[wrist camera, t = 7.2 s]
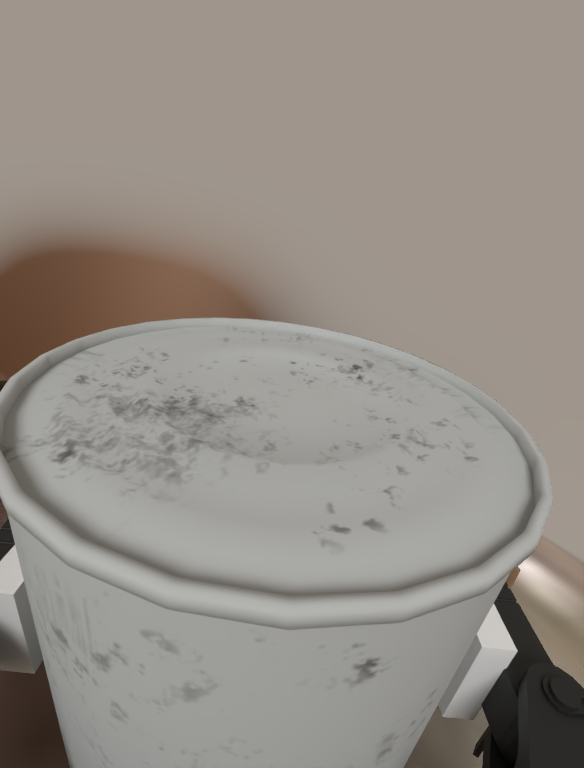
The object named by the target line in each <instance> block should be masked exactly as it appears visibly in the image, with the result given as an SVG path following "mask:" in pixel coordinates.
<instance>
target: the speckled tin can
mask: <svg viewBox="0 0 584 768" xmlns="http://www.w3.org/2000/svg"><path fill="white" fill-rule="evenodd" d="M551 490H552V489H551V483H550V476H549V471H548V464H547V462H546V460H545V458H544V457H543V455H542V453H541V451H540V450H539V448H538V446H537V445H536V443H535V442H534V440H533V438H532V436H531V435H530V433H529V432H528V431H527V430H526V429H525V428H524V427H523V426H522V425H521V424H520V423H519V422H518V421H517V420H516V419H515V418H514V416H512V414H511V413H510V412H508V410H507V409H505V408H504V407H503V406H502V405H501V404H499V403H498V402H497V401H495V400H494V399H493V398H491V397H490V396H488V395H487V394H485V393H484V392H483V391H481V390H480V389H479V388H477V387H476V386H475V385H473V384H471V383H469V382H467V381H466V380H464V379H462V378H460V377H458V376H457V375H455V374H453V373H451V372H450V371H448V370H446V369H444V368H442V367H440V366H438V365H435V364H433V363H431V362H429V361H426V360H424V359H422V358H419V357H417V356H415V355H413V354H410V353H407V352H404V351H402V350H399V349H396V348H393V347H390V346H387V345H384V344H382V343H379V342H375V341H372V340H368V339H364V338H360V337H357V336H353V335H350V334H346V333H341V332H337V331H332V330H327V329H323V328H318V327H312V326H306V325H299V324H293V323H286V322H278V321H268V320H256V319H242V318H241V319H240V318H185V319H172V320H162V321H152V322H144V323H140V324H134V325H129V326H123V327H118V328H112V329H108V330H105V331H102V332H99V333H95V334H92V335H88V336H85V337H82V338H78V339H75V340H73V341H71V342H68V343H66V344H64V345H62V346H60V347H58V348H55V349H53V350H51V351H49V352H47V353H44V354H42V355H40V356H39V357H38V358H36V359H35V360H34V361H33V362H31V363H29V364H28V365H27V366H26V367H24V368H23V369H21V370H20V371H19V372H17V373H16V374H15V375H13V376H12V377H11V378H10V379H9V380H8V382H7V383H6V384H5V386H4V387H3V389H2V390H1V392H0V498H1V500H2V503H3V505H4V507H5V509H6V511H7V514H8V518H9V522H10V526H11V530H12V534H13V538H14V542H15V546H16V550H17V554H18V559H19V563H20V567H21V571H22V575H23V579H24V583H25V587H26V591H27V595H28V599H29V603H30V607H31V612H32V616H33V620H34V624H35V628H36V632H37V636H38V640H39V644H40V648H41V652H42V656H43V660H44V664H45V669H46V673H47V677H48V681H49V685H50V689H51V693H52V697H53V701H54V705H55V709H56V713H57V717H58V721H59V726H60V730H61V734H62V738H63V742H64V746H65V750H66V754H67V758H68V762H69V766H70V768H403V767H404V766H405V764H406V762H407V760H408V758H409V757H410V755H411V753H412V751H413V749H414V747H415V746H416V744H417V742H418V740H419V738H420V736H421V735H422V733H423V731H424V729H425V727H426V726H427V724H428V722H429V720H430V718H431V716H432V715H433V713H434V711H435V709H436V707H437V706H438V704H439V702H440V700H441V698H442V696H443V695H444V693H445V691H446V689H447V687H448V685H449V684H450V682H451V680H452V678H453V676H454V675H455V673H456V671H457V669H458V667H459V665H460V664H461V662H462V660H463V658H464V656H465V655H466V653H467V651H468V649H469V647H470V645H471V644H472V642H473V640H474V638H475V636H476V635H477V633H478V631H479V629H480V627H481V625H482V624H483V622H484V620H485V618H486V616H487V614H488V613H489V611H490V609H491V607H492V605H493V604H494V602H495V600H496V598H497V596H498V594H499V593H500V591H501V589H502V587H503V585H504V584H505V582H506V580H507V578H508V576H509V574H510V573H511V571H512V570H514V569H515V568H516V567H517V566H518V565H519V564H521V563H522V562H523V561H524V560H525V559H527V558H528V557H529V556H530V555H531V554H532V553H533V552H534V550H535V548H536V546H537V545H538V542H539V539H540V537H541V534H542V532H543V529H544V526H545V524H546V521H547V518H548V516H549V513H550V511H551V508H552V505H553V497H552V491H551Z"/></svg>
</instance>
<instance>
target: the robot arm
mask: <svg viewBox="0 0 584 768" xmlns="http://www.w3.org/2000/svg"><path fill="white" fill-rule="evenodd" d="M42 660H43V656H42V652H41V648H40V644H39V640H38V636H37V632H36V628H35V624H34V620H33V616H32V612H31V607H30V603H29V599H28V595H27V591H26V587H25V583H24V579H23V575H22V571H21V567H20V563H19V559H18V554H17V550H16V546H15V542H14V538H13V534H12V530H11V526H10V522H9V520H8V521H7V522H6V523H5V524H4V525H3V526H2V528H1V530H0V669H1V670H4V671H14V672H23V673H33V674H35V672H36V670H37V669H38V667H39V665H40V664H41V662H42ZM439 707H440V710H441V714H442V717H450V718H460V719H469V720H474V718H475V717H476V715H477V714H478V712H479V710H480V709H481V707H483V710H484V713H485V715H486V718H487V721H488V723H489V726H488V728H487V729H486V731H485V732H484V733H483V735H482V736H481V738H480V739H479V741H478V742H477V744H476V746H475V749H474V752H473V755H475V756H476V757H479V756H480V754H481V753H482V751H483V767H482V768H584V688H583V687H582V686H581V685H580V684H579V683H578V682H577V681H576V680H575V679H574V678H573V677H572V676H570V675H569V674H567V673H566V672H564V671H563V670H561V669H560V668H558V667H556V666H554V665H553V663H552V662H551V660H550V658H549V657H548V655H547V653H546V651H545V650H544V648H543V646H542V644H541V643H540V641H539V639H538V637H537V635H536V634H535V632H534V630H533V628H532V627H531V625H530V623H529V621H528V620H527V618H526V616H525V614H524V613H523V611H522V609H521V607H520V605H519V604H518V603H516V598H515V597H514V595H513V593H512V591H511V590H510V589H509V588H508V584H507V582H505V584H504V585H503V587H502V589H501V591H500V593H499V594H498V596H497V598H496V600H495V602H494V604H493V605H492V607H491V609H490V611H489V613H488V614H487V616H486V618H485V620H484V622H483V624H482V625H481V627H480V629H479V631H478V633H477V635H476V636H475V638H474V640H473V642H472V644H471V645H470V647H469V649H468V651H467V653H466V655H465V656H464V658H463V660H462V662H461V664H460V665H459V667H458V669H457V671H456V673H455V675H454V676H453V678H452V680H451V682H450V684H449V685H448V687H447V689H446V691H445V693H444V695H443V696H442V698H441V700H440V702H439Z"/></svg>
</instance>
